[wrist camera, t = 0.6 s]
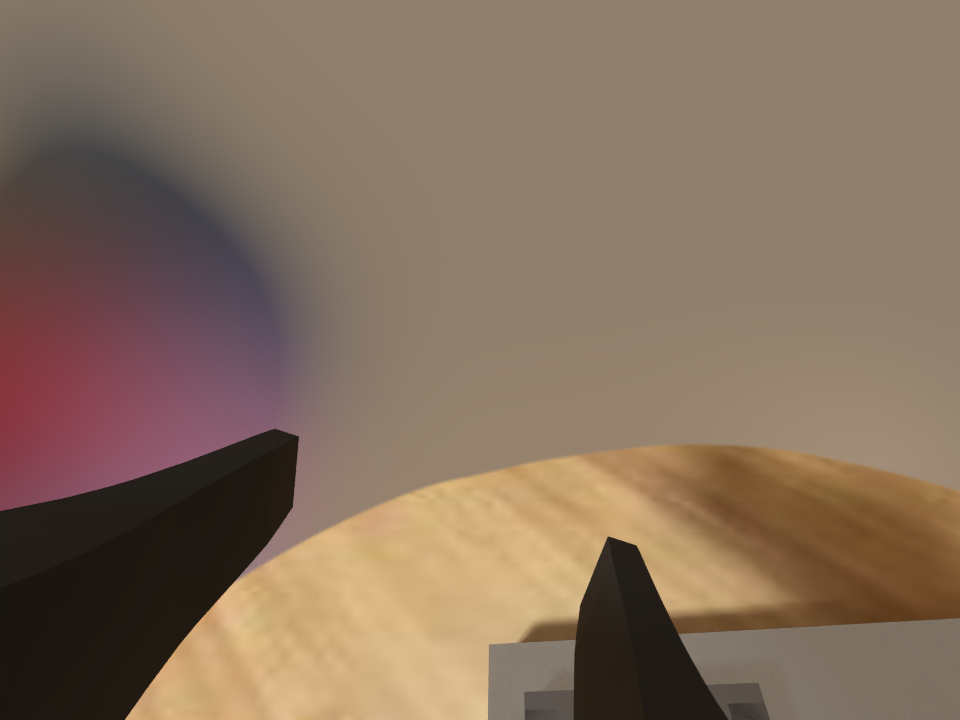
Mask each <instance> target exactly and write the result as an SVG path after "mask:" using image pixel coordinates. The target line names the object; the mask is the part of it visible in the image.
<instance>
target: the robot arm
mask: <svg viewBox="0 0 960 720" xmlns="http://www.w3.org/2000/svg"><path fill="white" fill-rule="evenodd" d="M298 441H299V436H296V435H292V434H289V433H286V432H283V431H280V430H277V429H273V430H270V431H267V432H264V433H261V434H258V435H256V436H253V437H250V438H248V439H245V440H243V441H240V442H237V443H235V444H232V445H230V446H227V447H224V448H222V449H219V450H216V451H214V452H211V453H208V454H206V455H203V456H200V457H198V458H195V459H192V460H190V461H187V462H184V463H181V464H178V465H175V466H173V467H169V468H166V469H163V470H161V471H158V472H155V473H152V474H149V475H146V476H143V477H140V478H137V479H134V480H130V481H127V482H124V483H120V484H117V485H114V486H110V487H106V488H102V489H99V490H95V491H91V492H87V493H83V494H79V495H76V496H72V497H67V498H63V499H58V500H53V501H49V502H43V503H39V504H33V505H28V506H23V507H19V508H14V509H9V510H4V511H0V720H125V719H126V717H127V716H128V714H129V713H130V712H131V710H132V709H133V707H134V706H135V705H136V703H137V702H138V700H139V699H140V698H141V696H142V695H143V693H144V692H145V690H146V689H147V688H148V686H149V685H150V684H151V682H152V681H153V680H154V678H155V677H156V675H157V674H158V673H159V671H160V670H161V669H162V667H163V666H164V665H165V663H166V662H167V661H168V659H169V658H170V657H171V655H172V654H173V653H174V651H175V650H176V649H177V647H178V646H179V645H180V643H181V642H182V641H183V640H184V638H185V637H186V636H187V635H188V634H189V632H190V631H191V630H192V629H193V628H194V626H195V625H196V624H197V623H198V622H199V621H200V620H201V618H202V617H203V616H204V615H205V614H206V613H207V612H208V611H209V609H210V608H211V607H212V606H213V605H214V604H215V603H216V602H217V600H218V599H219V598H220V597H221V596H222V595H223V594H224V593H225V592H226V590H227V589H228V588H229V587H230V586H231V585H232V584H233V583H234V581H235V580H236V579H237V578H238V577H239V576H240V575H241V574H242V572H243V571H244V570H245V569H246V568H247V567H248V566H249V565H250V563H251V562H252V561H253V560H254V559H255V558H256V556H257V555H258V554H259V553H260V552H261V551H262V549H263V548H264V547H265V546H266V545H267V544H268V542H269V541H270V539H271V538H272V537H273V535H274V534H275V532H276V531H277V530H278V528H279V527H280V525H281V524H282V522H283V521H284V519H285V518H286V516H287V515H288V513H289V512H290V510H291V509H292V507H293V498H294V487H295V475H296V463H297V451H298ZM574 720H729V719H728V718H727V716H726V715H725V713H724V712H723V710H722V709H721V707H720V706H719V704H718V703H717V701H716V700H715V698H714V696H713V695H712V693H711V692H710V690H709V688H708V687H707V685H706V683H705V682H704V680H703V678H702V676H701V675H700V673H699V671H698V669H697V668H696V666H695V664H694V662H693V661H692V659H691V657H690V655H689V653H688V651H687V650H686V648H685V646H684V644H683V642H682V640H681V638H680V636H679V634H678V632H677V630H676V628H675V626H674V624H673V622H672V620H671V619H670V617H669V615H668V613H667V610H666V608H665V606H664V604H663V602H662V600H661V598H660V596H659V594H658V591H657V589H656V587H655V585H654V583H653V581H652V578H651V576H650V574H649V572H648V569H647V567H646V565H645V563H644V560H643V558H642V556H641V554H640V551H639V549H638V548H637V546H636V545H633V544H630V543H627V542H624V541H621V540H618V539H615V538H611V537H607V540H606V542H605V545H604V547H603V550H602V552H601V555H600V557H599V560H598V562H597V565H596V567H595V570H594V572H593V575H592V577H591V580H590V582H589V585H588V587H587V590H586V592H585V595H584V597H583V600H582V602H581V605H580V612H579V619H578V627H577V634H576V643H575V651H574Z"/></svg>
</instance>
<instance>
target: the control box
mask: <svg viewBox="0 0 960 720" xmlns="http://www.w3.org/2000/svg"><path fill="white" fill-rule="evenodd" d="M679 636H680V638H681V640H682V642H683V644H684V646H685V648H686V650H687V651H688V653H689V655H690V657H691V659H692V661H693V662H694V664H695V666H696V668H697V669H698V671H699V673H700V675H701V676H702V678H703V680H704V682H705V683H706V685H707V687H708V688H709V690H710V692H711V693H712V695H713V696H714V698H715V700H716V701H717V703H718V704H719V706H720V707H721V709H722V710H723V712H724V713H725V715H726V716H727V718H728V719H729V720H960V618H955V619H937V620H919V621H901V622H883V623H865V624H847V625H830V626H812V627H794V628H776V629H758V630H740V631H722V632H705V633H687V634H679ZM575 643H576V640H562V641H544V642H526V643H508V644H490V645H489V691H488V720H574V651H575Z"/></svg>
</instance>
